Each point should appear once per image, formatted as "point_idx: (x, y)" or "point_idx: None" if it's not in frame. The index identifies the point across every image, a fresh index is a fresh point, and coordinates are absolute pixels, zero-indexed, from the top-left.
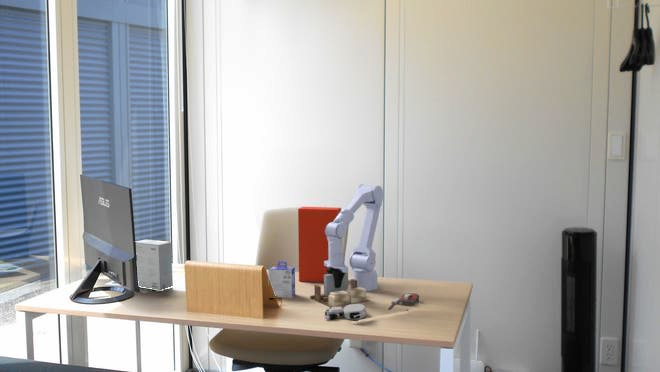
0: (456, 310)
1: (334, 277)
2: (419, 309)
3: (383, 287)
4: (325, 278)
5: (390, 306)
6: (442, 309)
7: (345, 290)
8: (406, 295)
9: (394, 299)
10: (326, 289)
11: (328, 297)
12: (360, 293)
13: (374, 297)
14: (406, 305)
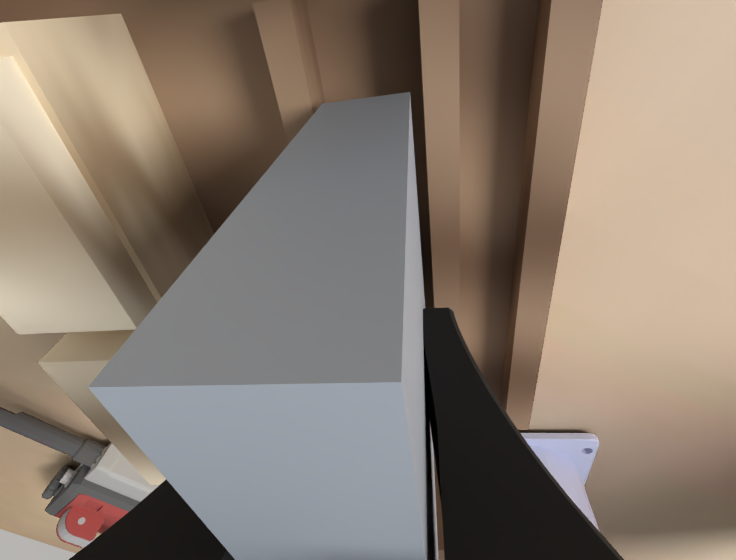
0: (39, 537)
1: None
2: (49, 483)
3: None
4: (266, 270)
5: (3, 425)
6: (52, 522)
7: None
8: (82, 542)
9: (137, 489)
10: (306, 135)
11: (282, 109)
12: None
13: None
14: (56, 478)
